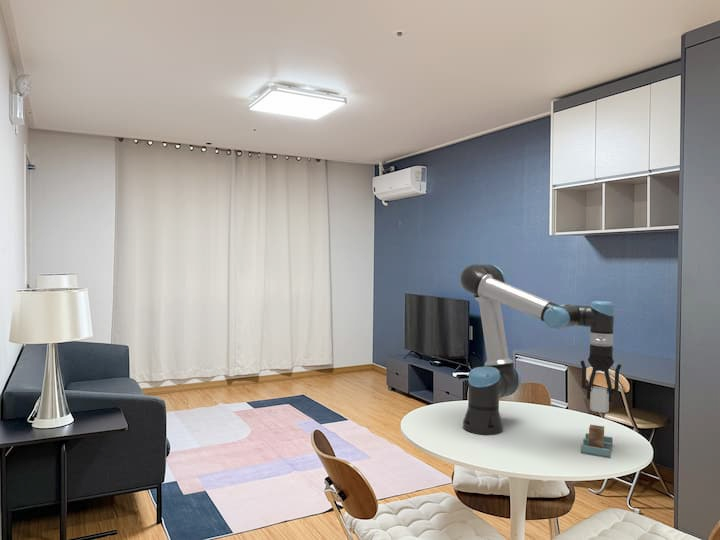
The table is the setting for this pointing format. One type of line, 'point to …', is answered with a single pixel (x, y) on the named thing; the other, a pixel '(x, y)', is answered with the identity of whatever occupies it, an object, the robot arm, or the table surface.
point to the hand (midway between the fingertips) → (599, 409)
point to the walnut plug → (596, 436)
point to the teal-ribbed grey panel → (595, 450)
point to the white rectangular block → (599, 399)
